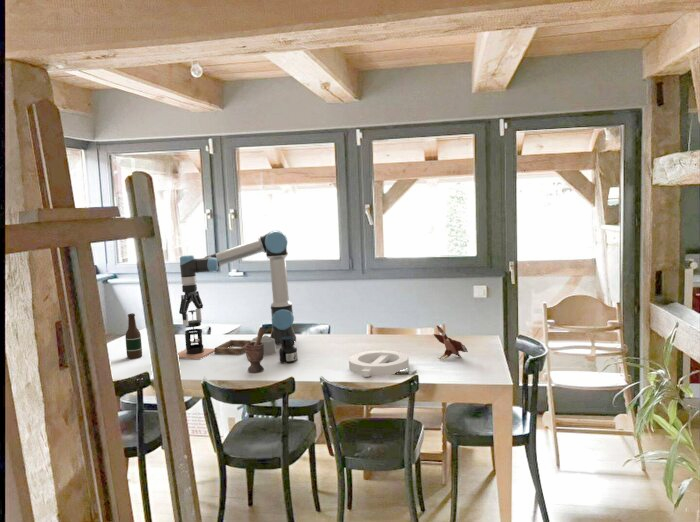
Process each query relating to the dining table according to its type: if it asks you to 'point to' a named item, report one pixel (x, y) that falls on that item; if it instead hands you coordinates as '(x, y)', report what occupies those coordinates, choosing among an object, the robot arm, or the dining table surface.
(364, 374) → the white circle with bar
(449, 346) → the decorative bird
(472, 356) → the dining table surface
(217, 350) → the brown wooden tray
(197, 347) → the french press
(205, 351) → the terracotta pad
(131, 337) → the beer bottle
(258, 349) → the mortar and pestle
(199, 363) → the dining table surface
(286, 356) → the ink bottle
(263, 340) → the lumpy-topped squat cylinder
